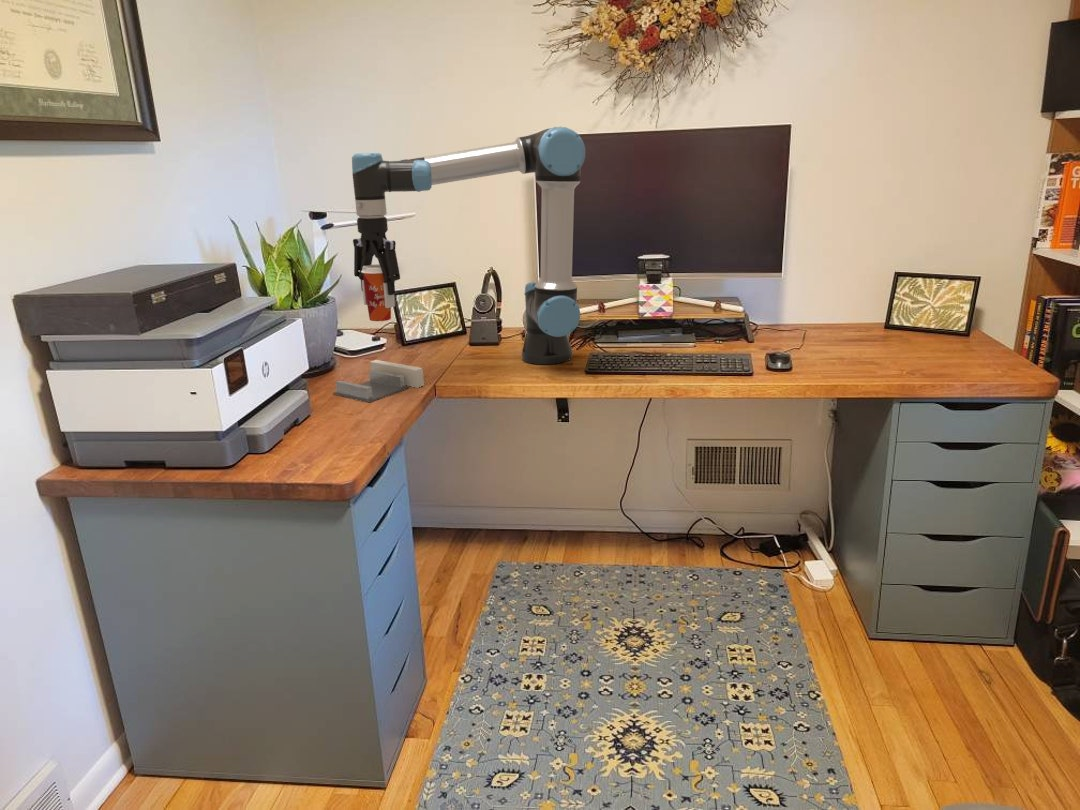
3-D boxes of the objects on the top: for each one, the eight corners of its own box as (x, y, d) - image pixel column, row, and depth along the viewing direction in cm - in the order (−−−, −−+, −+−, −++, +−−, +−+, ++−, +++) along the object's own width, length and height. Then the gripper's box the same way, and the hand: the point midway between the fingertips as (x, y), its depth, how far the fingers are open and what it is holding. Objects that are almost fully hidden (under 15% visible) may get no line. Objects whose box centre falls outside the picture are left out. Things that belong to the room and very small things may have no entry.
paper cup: (372, 323, 199) (367, 269, 194) (360, 318, 205) (356, 265, 200) (400, 319, 203) (396, 266, 199) (388, 314, 209) (384, 263, 205)
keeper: (409, 388, 206) (407, 375, 205) (369, 402, 195) (368, 389, 194) (373, 381, 214) (371, 368, 213) (333, 394, 203) (331, 381, 202)
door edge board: (424, 385, 208) (422, 368, 206) (417, 388, 206) (416, 370, 204) (378, 376, 218) (376, 359, 216) (371, 378, 216) (369, 361, 214)
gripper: (333, 216, 199) (342, 303, 206) (388, 219, 187) (395, 312, 194) (356, 214, 204) (364, 299, 211) (410, 216, 192) (417, 307, 200)
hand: (379, 305), depth 203 cm, fingers closed on paper cup, 8 cm apart
